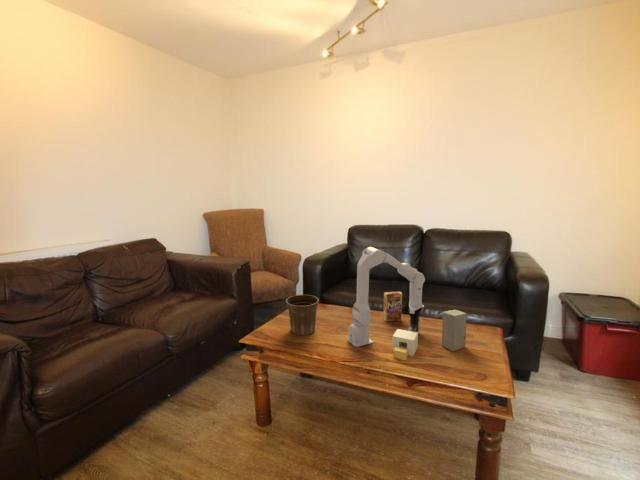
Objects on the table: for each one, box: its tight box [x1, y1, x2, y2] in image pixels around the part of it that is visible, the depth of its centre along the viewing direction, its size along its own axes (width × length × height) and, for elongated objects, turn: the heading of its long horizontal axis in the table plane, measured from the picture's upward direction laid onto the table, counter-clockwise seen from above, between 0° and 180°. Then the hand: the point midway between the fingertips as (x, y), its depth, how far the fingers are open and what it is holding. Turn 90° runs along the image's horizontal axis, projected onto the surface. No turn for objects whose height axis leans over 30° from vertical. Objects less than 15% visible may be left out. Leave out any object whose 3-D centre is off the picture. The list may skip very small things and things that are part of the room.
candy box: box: [382, 291, 403, 322], centre depth 171 cm, size 9×4×15 cm, turn 98°
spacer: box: [393, 347, 409, 361], centre depth 133 cm, size 4×5×3 cm
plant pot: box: [285, 294, 320, 336], centre depth 159 cm, size 16×16×16 cm
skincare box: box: [441, 309, 467, 352], centre depth 140 cm, size 8×7×16 cm
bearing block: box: [391, 328, 419, 357], centre depth 139 cm, size 8×9×7 cm
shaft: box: [402, 318, 421, 346], centre depth 147 cm, size 21×4×6 cm, turn 151°
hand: (414, 322), depth 155 cm, fingers closed on shaft, 3 cm apart
